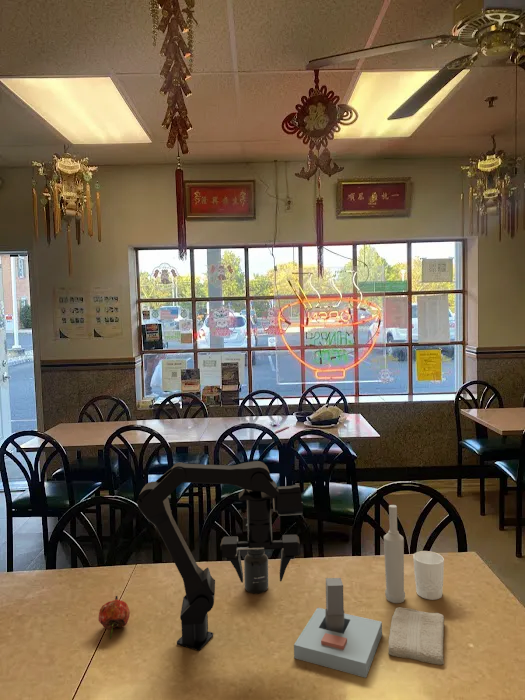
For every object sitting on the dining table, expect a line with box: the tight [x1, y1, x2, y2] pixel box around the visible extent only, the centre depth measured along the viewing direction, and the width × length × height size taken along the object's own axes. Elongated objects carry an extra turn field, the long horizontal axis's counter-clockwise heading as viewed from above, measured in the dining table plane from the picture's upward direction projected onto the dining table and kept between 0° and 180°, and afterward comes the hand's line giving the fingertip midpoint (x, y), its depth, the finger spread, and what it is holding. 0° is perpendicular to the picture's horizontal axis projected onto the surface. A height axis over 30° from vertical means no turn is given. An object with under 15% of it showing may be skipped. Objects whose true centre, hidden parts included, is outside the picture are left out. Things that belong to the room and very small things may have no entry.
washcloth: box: [387, 606, 445, 666], centre depth 113 cm, size 12×18×3 cm, turn 160°
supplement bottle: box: [243, 550, 269, 594], centre depth 138 cm, size 7×7×12 cm
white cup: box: [412, 550, 445, 601], centre depth 132 cm, size 8×8×10 cm
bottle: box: [383, 504, 406, 604], centre depth 130 cm, size 5×5×25 cm
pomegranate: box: [98, 595, 131, 640], centre depth 120 cm, size 7×7×10 cm
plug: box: [325, 577, 345, 634], centre depth 114 cm, size 4×4×13 cm
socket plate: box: [293, 607, 383, 679], centre depth 111 cm, size 16×16×4 cm
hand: (261, 581), depth 116 cm, fingers open, 9 cm apart
